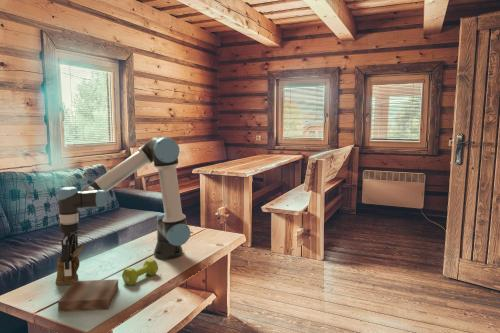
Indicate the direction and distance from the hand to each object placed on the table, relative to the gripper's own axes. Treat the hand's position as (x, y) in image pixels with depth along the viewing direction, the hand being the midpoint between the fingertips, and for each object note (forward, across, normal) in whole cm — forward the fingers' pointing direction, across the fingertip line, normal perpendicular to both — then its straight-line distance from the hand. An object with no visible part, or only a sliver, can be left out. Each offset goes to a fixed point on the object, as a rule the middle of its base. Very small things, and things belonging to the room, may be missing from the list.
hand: (71, 272), depth 166 cm
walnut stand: (+4, +18, +13) cm, 23 cm away
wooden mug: (+4, +1, 0) cm, 4 cm away
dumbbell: (+4, 0, +30) cm, 31 cm away
